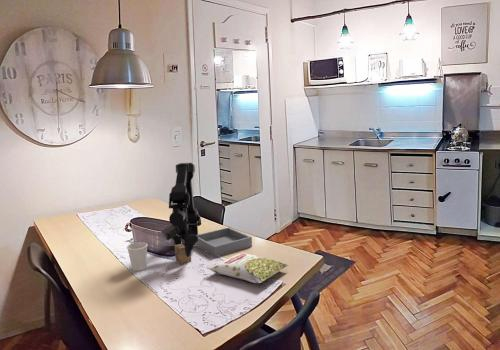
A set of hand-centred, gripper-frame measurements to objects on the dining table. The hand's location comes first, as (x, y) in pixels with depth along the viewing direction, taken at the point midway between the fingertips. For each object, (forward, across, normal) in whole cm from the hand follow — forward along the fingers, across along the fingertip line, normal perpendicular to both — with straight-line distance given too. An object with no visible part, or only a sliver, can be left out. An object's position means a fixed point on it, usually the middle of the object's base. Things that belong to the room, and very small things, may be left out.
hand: (183, 253), depth 180 cm
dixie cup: (+4, -5, -18) cm, 19 cm away
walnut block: (+3, 0, 0) cm, 3 cm away
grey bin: (+3, -5, +23) cm, 24 cm away
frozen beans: (+4, +29, +14) cm, 32 cm away
